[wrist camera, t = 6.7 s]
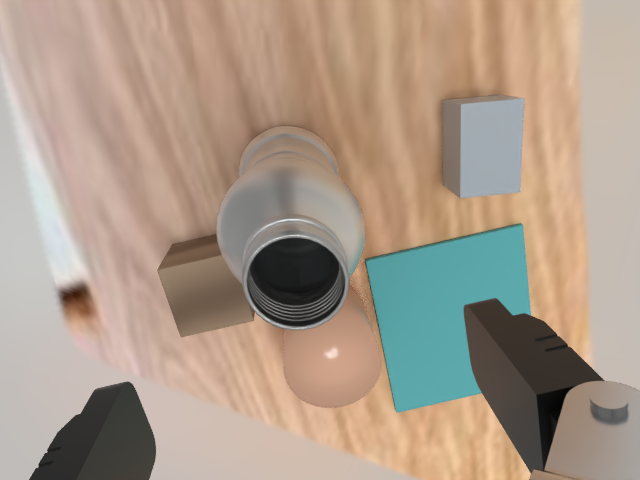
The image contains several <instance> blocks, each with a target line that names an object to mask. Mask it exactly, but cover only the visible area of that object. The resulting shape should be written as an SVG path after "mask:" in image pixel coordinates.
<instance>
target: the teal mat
mask: <svg viewBox="0 0 640 480" xmlns="http://www.w3.org/2000/svg"><path fill="white" fill-rule="evenodd" d="M365 261H366V266H367V271H368V276H369V281H370V286H371V291H372V296H373V301H374V306H375V310H376V315H377V320H378V325H379V330H380V335H381V340H382V345H383V350H384V355H385V360H386V365H387V370H388V375H389V380H390V385H391V389H392V394H393V399H394V404H395V409H396V412H402V411H406V410H411V409H415V408H419V407H424V406H428V405H432V404H437V403H441V402H445V401H450V400H454V399H459V398H463V397H467V396H472V395H476V394H480V393H482V392H481V390H480V389H479V387H478V385H477V383H476V380H475V377H474V374H473V371H472V367H471V363H470V356H469V349H468V342H467V335H466V327H465V320H464V311H463V310H464V305H466V304H471V303H475V302H479V301H484V300H488V299H492V298H497V299H498V300H499V301H500V302H501V303H502V304H503V305H504V306H505V307H506V308H507V310H508V311H509V312H510V313H511V314H512V315H518V314H522V313H526V314H528V315H530V316H531V311H530V300H529V289H528V277H527V266H526V255H525V244H524V232H523V225H522V224H521V223H520V224H516V225H512V226H507V227H503V228H499V229H494V230H490V231H486V232H481V233H477V234H473V235H468V236H464V237H460V238H455V239H451V240H446V241H442V242H438V243H433V244H429V245H425V246H420V247H416V248H412V249H407V250H403V251H399V252H394V253H390V254H386V255H381V256H377V257H373V258H368V259H365Z"/></svg>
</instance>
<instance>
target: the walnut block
mask: <svg viewBox="0 0 640 480" xmlns="http://www.w3.org/2000/svg"><path fill="white" fill-rule="evenodd" d="M157 271H158V274H159V277H160V280H161V282H162V285H163V288H164V291H165V294H166V297H167V299H168V302H169V305H170V308H171V311H172V314H173V316H174V319H175V322H176V325H177V328H178V331H179V333H180V336H181V337H185V336H189V335H194V334H198V333H202V332H207V331H211V330H215V329H220V328H224V327H228V326H233V325H237V324H242V323H246V322H250V321H254V313H255V311H254V310H253V309H252V308H251V306H250V304H249V303H248V301H247V299H246V296H245V293H244V289H243V284H241V283H240V282H239V281H238V279H237V278H236V277H235V276H234V275H233V273H232V272H231V271H230V269H229V267H228V265H227V264H226V262H225V260H224V258H223V256H222V254H221V251H220V248H219V245H218V242H217V234H216V235H211V236H207V237H203V238H198V239H194V240H190V241H185V242H181V243H177V244H172V246H171V248H170V249H169V251H168V253H167V255H166V256H165V258H164V260H163V261H162V263H161V265H160V266H159V268H158V270H157Z"/></svg>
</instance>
